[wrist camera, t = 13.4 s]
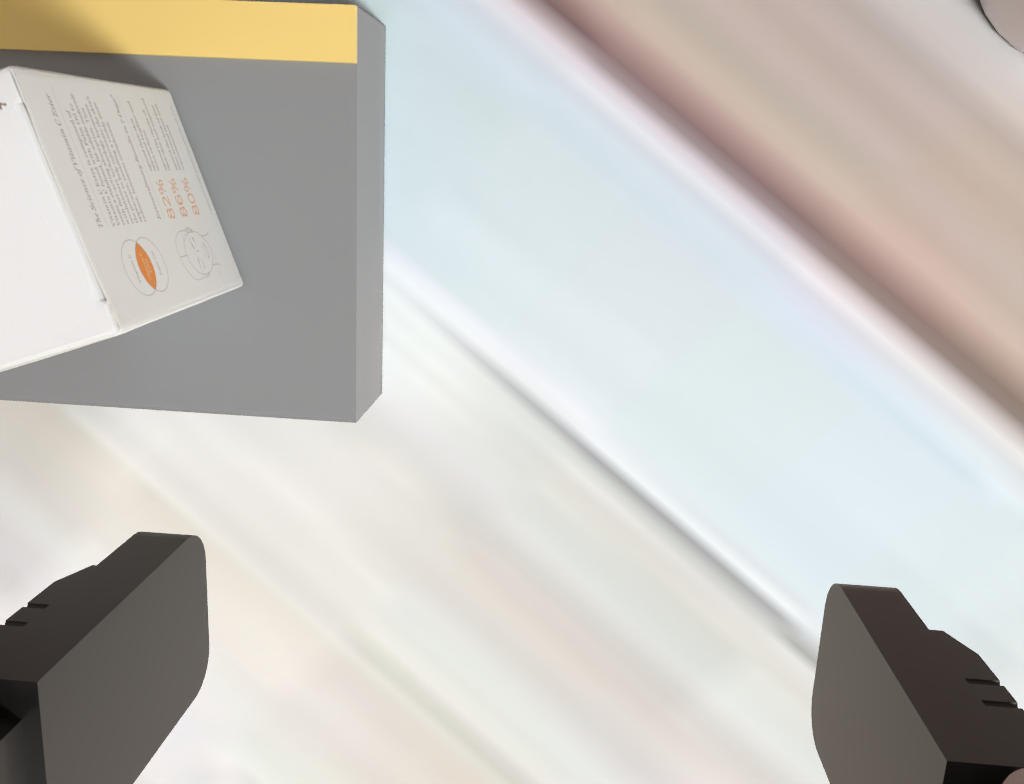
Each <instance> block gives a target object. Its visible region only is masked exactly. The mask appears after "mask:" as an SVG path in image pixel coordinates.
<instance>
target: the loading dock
mask: <svg viewBox="0 0 1024 784" xmlns="http://www.w3.org/2000/svg"><path fill="white" fill-rule="evenodd" d="M7 66H20V67H26V68H32V69H39V70H45V71H53V72H58V73H64V74H70V75H76V76H81V77H88V78H94V79H99V80H106V81H112V82H119V83H126V84H133V85H139V86H146V87H152V88H159V89H165V90H168V91H169V92H170V94H171V96H172V99H173V102H174V105H175V107H176V110H177V112H178V115H179V118H180V120H181V123H182V126H183V128H184V131H185V134H186V136H187V139H188V141H189V144H190V146H191V149H192V152H193V154H194V157H195V159H196V162H197V164H198V167H199V170H200V172H201V175H202V177H203V180H204V183H205V185H206V188H207V190H208V193H209V196H210V198H211V201H212V204H213V206H214V209H215V211H216V214H217V217H218V219H219V222H220V224H221V227H222V229H223V232H224V235H225V237H226V240H227V243H228V245H229V248H230V250H231V253H232V256H233V258H234V261H235V263H236V266H237V268H238V271H239V274H240V276H241V278H242V280H243V285H242V286H241V287H239V288H237V289H234V290H232V291H229V292H226V293H224V294H221V295H219V296H216V297H214V298H211V299H209V300H206V301H204V302H201V303H199V304H197V305H194V306H191V307H189V308H186V309H184V310H181V311H178V312H176V313H173V314H171V315H168V316H166V317H163V318H161V319H158V320H156V321H153V322H150V323H148V324H145V325H143V326H140V327H138V328H135V329H133V330H131V331H129V332H126V333H124V334H121V335H118V336H115V337H111V338H108V339H105V340H102V341H99V342H95V343H92V344H89V345H86V346H83V347H80V348H77V349H74V350H71V351H67V352H64V353H61V354H58V355H55V356H52V357H48V358H45V359H42V360H39V361H35V362H32V363H29V364H25V365H22V366H19V367H15V368H12V369H9V370H5V371H2V372H0V400H11V401H27V402H42V403H58V404H73V405H89V406H104V407H120V408H135V409H151V410H166V411H182V412H197V413H213V414H229V415H244V416H260V417H275V418H291V419H306V420H322V421H337V422H353V423H356V422H357V421H358V420H359V419H360V418H361V416H362V415H363V414H364V413H365V412H366V411H367V410H368V408H369V407H370V406H371V405H372V404H373V403H374V402H375V400H376V399H377V398H378V397H379V396H380V395H381V394H382V325H383V225H384V125H385V25H383V24H382V23H381V22H379V21H378V20H376V19H375V18H373V17H372V16H371V15H369V14H368V13H366V12H365V11H363V10H362V9H360V8H359V7H358V6H356V5H344V4H316V3H288V2H261V1H233V0H0V69H2V68H5V67H7Z"/></svg>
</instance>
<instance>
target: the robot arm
mask: <svg viewBox="0 0 1024 784" xmlns="http://www.w3.org/2000/svg"><path fill="white" fill-rule="evenodd" d="M980 3H981V5H982V8H983V10H984V13H985V15H986V16H987V17H988V19H989V20H990V22H991V23H992V25H993V26H994V28H995V29H996V30H997V32H998V33H999V34H1000V35H1001V36H1002V37H1003V38H1004V39H1006V40H1007V41H1008V42H1009V43H1010V44H1011V45H1012V46H1013V47H1015V48H1016V49H1017V50H1019V51H1021V52H1023V53H1024V0H980ZM208 657H209V630H208V605H207V581H206V558H205V550H204V546H203V543H202V541H201V539H200V538H199V537H198V536H194V535H180V534H166V533H152V532H138V533H136V534H134V535H133V536H132V537H131V538H129V539H128V540H127V541H126V542H125V543H123V544H122V545H121V546H120V547H119V548H117V549H116V550H115V551H114V552H113V553H111V554H110V555H109V556H108V557H106V558H105V559H104V560H103V561H102V562H100V563H99V564H98V565H97V566H96V565H92V566H90V567H87V568H85V569H83V570H81V571H78V572H76V573H74V574H71V575H69V576H67V577H65V578H62V579H60V580H58V581H55V582H54V583H52V584H51V585H50V586H49V587H47V588H46V589H45V590H44V591H42V592H41V593H40V594H38V595H37V596H36V597H35V598H33V599H32V600H31V601H30V602H28V606H27V607H22V608H21V609H20V610H18V611H17V612H16V613H15V614H13V615H12V616H11V617H9V618H8V619H7V620H6V623H5V625H0V784H133V783H134V782H135V780H136V779H137V778H138V776H139V775H140V773H141V772H142V771H143V769H144V768H145V766H146V765H147V764H148V762H149V761H150V760H151V758H152V757H153V755H154V754H155V753H156V751H157V750H158V749H159V747H160V746H161V744H162V743H163V742H164V740H165V739H166V737H167V736H168V735H169V733H170V732H171V731H172V729H173V728H174V726H175V725H176V724H177V722H178V721H179V720H180V718H181V717H182V715H183V714H184V713H185V711H186V710H187V708H188V707H189V706H190V704H191V703H192V702H193V700H194V699H195V697H196V696H197V694H198V692H199V690H200V688H201V686H202V683H203V680H204V677H205V673H206V669H207V664H208ZM812 729H813V736H814V741H815V745H816V749H817V752H818V754H819V757H820V759H821V762H822V764H823V767H824V769H825V772H826V774H827V777H828V779H829V782H830V784H1024V710H1023V709H1019V708H1018V707H1017V702H1016V701H1015V699H1014V698H1013V697H1012V696H1011V694H1010V693H1009V692H1008V691H1007V689H1006V688H1005V687H1004V686H1000V681H999V679H998V678H997V677H996V676H995V674H994V673H993V672H992V671H991V670H990V668H989V667H988V666H987V665H986V663H985V662H984V661H983V660H982V658H981V657H980V656H979V655H978V654H977V653H975V652H974V651H972V650H971V649H969V648H968V647H966V646H965V645H963V644H962V643H960V642H959V641H957V640H956V639H954V638H953V637H951V636H950V635H948V634H947V633H945V632H944V631H938V630H929V629H928V628H927V627H926V625H925V624H924V623H923V621H922V620H921V619H920V617H919V616H918V615H917V613H916V612H915V610H914V609H913V608H912V606H911V605H910V604H909V602H908V601H907V600H906V598H905V597H904V596H903V594H902V593H901V592H900V591H899V590H898V589H897V588H889V587H875V586H862V585H848V584H833V585H832V586H831V588H830V590H829V592H828V595H827V599H826V604H825V610H824V617H823V624H822V631H821V638H820V645H819V653H818V660H817V667H816V674H815V681H814V688H813V696H812Z"/></svg>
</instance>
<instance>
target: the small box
mask: <svg viewBox="0 0 1024 784" xmlns="http://www.w3.org/2000/svg"><path fill="white" fill-rule="evenodd" d="M242 285H243V280H242V278H241V276H240V274H239V271H238V268H237V266H236V263H235V261H234V258H233V256H232V253H231V250H230V248H229V245H228V243H227V240H226V237H225V235H224V232H223V229H222V227H221V224H220V222H219V219H218V217H217V214H216V211H215V209H214V206H213V204H212V201H211V198H210V196H209V193H208V190H207V188H206V185H205V183H204V180H203V177H202V175H201V172H200V170H199V167H198V164H197V162H196V159H195V157H194V154H193V152H192V149H191V146H190V144H189V141H188V139H187V136H186V134H185V131H184V128H183V126H182V123H181V120H180V118H179V115H178V112H177V110H176V107H175V105H174V102H173V99H172V96H171V94H170V92H169V91H168V90H165V89H159V88H152V87H146V86H139V85H133V84H126V83H119V82H112V81H106V80H99V79H94V78H88V77H81V76H76V75H70V74H64V73H58V72H53V71H45V70H39V69H32V68H26V67H20V66H7V67H5V68H2V69H0V372H2V371H5V370H9V369H12V368H15V367H19V366H22V365H25V364H29V363H32V362H35V361H39V360H42V359H45V358H48V357H52V356H55V355H58V354H61V353H64V352H67V351H71V350H74V349H77V348H80V347H83V346H86V345H89V344H92V343H95V342H99V341H102V340H105V339H108V338H111V337H115V336H118V335H121V334H124V333H126V332H129V331H131V330H133V329H135V328H138V327H140V326H143V325H145V324H148V323H150V322H153V321H156V320H158V319H161V318H163V317H166V316H168V315H171V314H173V313H176V312H178V311H181V310H184V309H186V308H189V307H191V306H194V305H197V304H199V303H201V302H204V301H206V300H209V299H211V298H214V297H216V296H219V295H221V294H224V293H226V292H229V291H232V290H234V289H237V288H239V287H241V286H242Z"/></svg>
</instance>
